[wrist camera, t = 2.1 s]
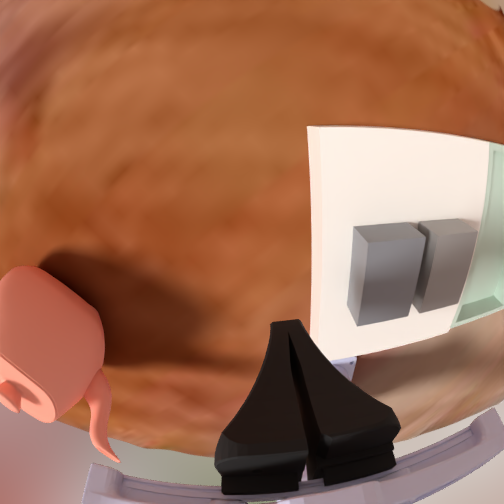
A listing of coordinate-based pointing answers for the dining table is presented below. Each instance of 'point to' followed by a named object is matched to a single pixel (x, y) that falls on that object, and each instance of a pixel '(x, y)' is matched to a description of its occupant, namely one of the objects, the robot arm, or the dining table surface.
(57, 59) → the dining table surface
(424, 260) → the tile
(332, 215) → the board
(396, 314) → the tile
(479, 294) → the box
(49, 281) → the teapot
